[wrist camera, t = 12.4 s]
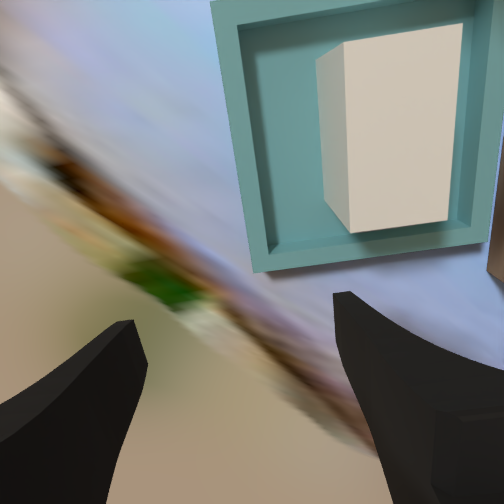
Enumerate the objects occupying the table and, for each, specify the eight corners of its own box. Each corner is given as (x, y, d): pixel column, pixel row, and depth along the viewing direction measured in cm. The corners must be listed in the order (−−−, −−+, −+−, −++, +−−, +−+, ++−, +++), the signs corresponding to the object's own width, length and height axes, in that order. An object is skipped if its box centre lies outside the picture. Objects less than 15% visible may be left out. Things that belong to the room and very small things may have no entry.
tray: (466, 229, 21) (487, 241, 19) (252, 258, 22) (253, 273, 20) (492, -36, 16) (524, -53, 14) (214, 12, 17) (209, 1, 15)
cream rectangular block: (395, 202, 20) (446, 235, 15) (325, 211, 20) (350, 248, 15) (398, 46, 17) (463, 23, 12) (315, 59, 17) (343, 42, 12)
